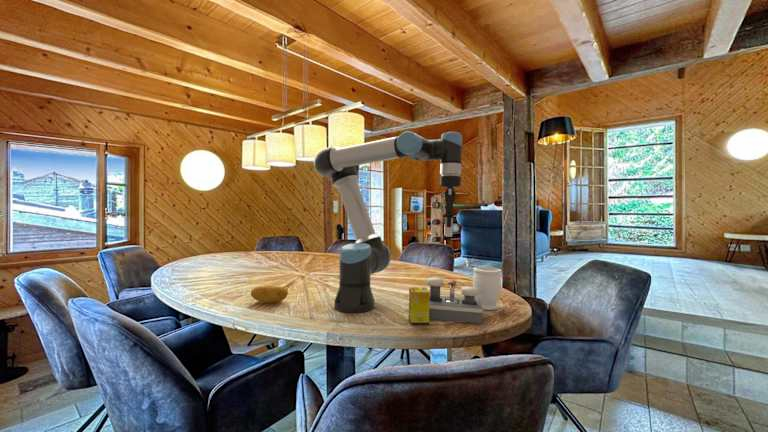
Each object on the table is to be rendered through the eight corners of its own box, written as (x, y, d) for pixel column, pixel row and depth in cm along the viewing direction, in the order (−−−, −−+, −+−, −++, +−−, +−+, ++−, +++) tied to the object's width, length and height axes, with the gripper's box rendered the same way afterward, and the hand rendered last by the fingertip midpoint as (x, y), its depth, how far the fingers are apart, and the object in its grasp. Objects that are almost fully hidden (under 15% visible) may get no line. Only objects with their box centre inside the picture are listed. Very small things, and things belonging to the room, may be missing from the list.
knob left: (426, 299, 116) (427, 280, 116) (427, 295, 122) (428, 276, 122) (442, 301, 115) (443, 281, 115) (443, 296, 121) (443, 277, 121)
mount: (421, 318, 114) (422, 303, 113) (424, 307, 126) (425, 294, 125) (482, 323, 109) (482, 308, 109) (479, 312, 121) (479, 298, 121)
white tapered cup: (502, 312, 121) (503, 272, 121) (473, 310, 124) (474, 270, 123) (498, 304, 132) (499, 266, 131) (471, 302, 134) (472, 265, 133)
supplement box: (408, 318, 113) (408, 287, 112) (425, 318, 113) (426, 287, 113) (411, 325, 107) (411, 291, 106) (429, 325, 107) (430, 291, 107)
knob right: (461, 309, 114) (461, 289, 114) (460, 305, 120) (461, 285, 119) (478, 311, 113) (478, 290, 113) (476, 306, 118) (477, 287, 118)
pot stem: (445, 316, 116) (446, 282, 116) (445, 312, 120) (446, 279, 120) (457, 317, 115) (458, 282, 115) (457, 313, 119) (458, 280, 119)
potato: (283, 306, 123) (283, 288, 123) (247, 305, 124) (247, 287, 124) (290, 300, 131) (290, 283, 131) (256, 299, 132) (256, 282, 132)
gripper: (462, 172, 108) (459, 238, 109) (460, 178, 132) (458, 232, 132) (439, 172, 109) (436, 237, 110) (441, 178, 133) (439, 231, 134)
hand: (448, 235), depth 121 cm, fingers open, 12 cm apart
